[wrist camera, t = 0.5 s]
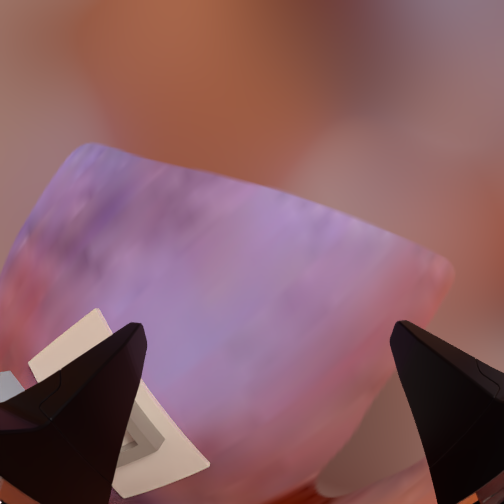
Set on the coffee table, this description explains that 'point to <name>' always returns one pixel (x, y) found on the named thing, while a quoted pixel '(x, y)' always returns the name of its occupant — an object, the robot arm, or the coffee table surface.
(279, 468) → the coffee table surface
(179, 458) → the well
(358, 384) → the coffee table surface
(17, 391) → the post
